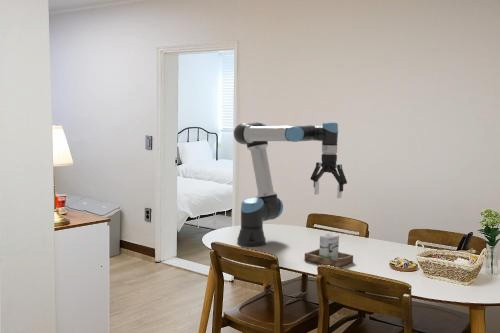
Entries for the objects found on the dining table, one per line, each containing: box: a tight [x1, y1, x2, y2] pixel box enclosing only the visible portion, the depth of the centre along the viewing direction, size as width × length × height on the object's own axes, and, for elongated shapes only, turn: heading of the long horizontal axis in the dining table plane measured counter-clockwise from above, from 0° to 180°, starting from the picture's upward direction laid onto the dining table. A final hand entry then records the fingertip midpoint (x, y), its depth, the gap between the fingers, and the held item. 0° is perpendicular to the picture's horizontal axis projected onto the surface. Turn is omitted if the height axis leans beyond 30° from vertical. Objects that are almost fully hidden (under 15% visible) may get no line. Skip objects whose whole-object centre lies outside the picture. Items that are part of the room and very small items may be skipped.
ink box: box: [318, 233, 340, 260], centre depth 249 cm, size 9×5×12 cm, turn 130°
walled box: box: [304, 248, 354, 268], centre depth 250 cm, size 18×14×4 cm
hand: (327, 196), depth 262 cm, fingers open, 13 cm apart
